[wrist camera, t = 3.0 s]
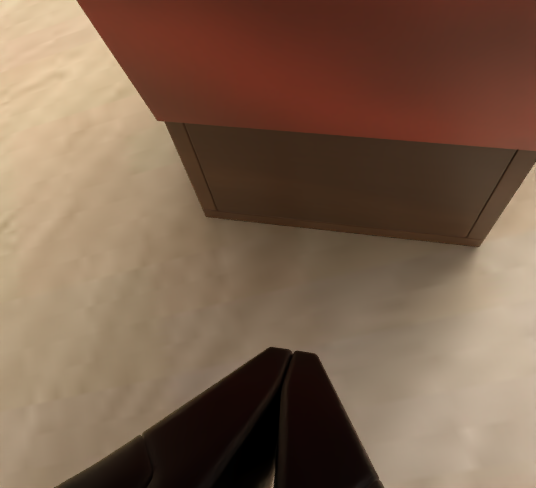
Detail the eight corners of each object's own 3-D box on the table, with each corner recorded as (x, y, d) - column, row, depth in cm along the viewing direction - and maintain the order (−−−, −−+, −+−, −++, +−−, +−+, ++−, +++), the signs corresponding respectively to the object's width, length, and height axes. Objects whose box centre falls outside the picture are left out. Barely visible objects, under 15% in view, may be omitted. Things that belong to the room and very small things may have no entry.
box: (250, 40, 31) (229, -88, 24) (479, 51, 29) (529, -86, 22) (205, 217, 26) (162, 119, 19) (479, 247, 24) (544, 149, 17)
